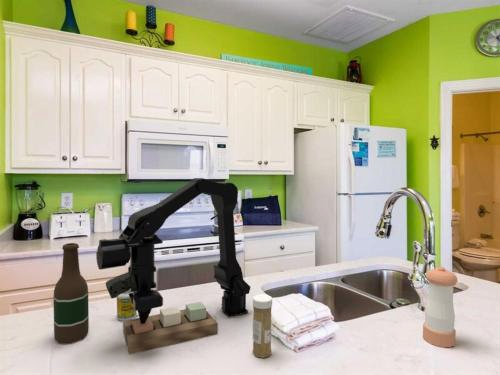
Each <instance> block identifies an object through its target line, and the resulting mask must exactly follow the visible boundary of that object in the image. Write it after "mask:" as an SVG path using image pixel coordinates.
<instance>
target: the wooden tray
mask: <svg viewBox="0 0 500 375" xmlns="http://www.w3.org/2000/svg"><path fill="white" fill-rule="evenodd" d="M179 311H180V312H181V324H177V325H172V326H167V327H163V325H162V323H161V321H160V313H158V314H153V315H149V316H148V318H150V319H151V321H152V323H153V330H152V331H147V332H143V333H138V334H133V333H132V321H137V320H140V319H139V317H135V318H133V319H130V320H125V321H122V332H123V337H124V340H125V343H126V347H127V352H128V354H129V356H130V355H134V354H139V353H142V352H146V351H152V350H155V349H160V348H163V347H167V346H172V345H176V344H182V343H184V342H189V341H194V340H197V339H198V340H199V339H202V338H207V337H211V336H216V335H219V334H218V331H219V329H218V328H219V326H218V324H219V322H217V321H216V319H215V318H214V317H213V316H212V315H211V314H210V313H209V312H208V311H207V310H206V319H201V320H196V321H191V322H190V320H189V319H188V318H187V316H186V308H184V309H179ZM148 318H147V319H148Z"/></svg>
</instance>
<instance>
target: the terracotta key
mask: <svg viewBox="0 0 500 375" xmlns="http://www.w3.org/2000/svg"><path fill="white" fill-rule="evenodd" d="M152 330H153V323H152V321H151V319H150V318H148V319H147V321H146V323H145V324H141V323H140V320H137V321H132V333H133V334H138V333H143V332H147V331H152Z"/></svg>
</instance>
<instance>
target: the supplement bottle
mask: <svg viewBox="0 0 500 375" xmlns="http://www.w3.org/2000/svg"><path fill="white" fill-rule="evenodd" d="M130 293H132V292H131V288H130V290H128V291H126V292H124V293H122V294H120V295H118V297H116V318H117V320H119V321H122V322H123V321H125V320H130V319H136V318H137V313H138V311H136V310H135V308H134V305H133V304H132V302H131V298H130V297H129V294H130Z"/></svg>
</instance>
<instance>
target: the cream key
mask: <svg viewBox="0 0 500 375" xmlns="http://www.w3.org/2000/svg"><path fill="white" fill-rule="evenodd" d="M179 310H180V309H179V308H178V307H177V305H176V306H174V305H173V306H169V307H164V308H163V307H162V308H159V314H160V321H161V323H162V325H163V327H167V326H172V325H177V324H181V312H180V311H179Z"/></svg>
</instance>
